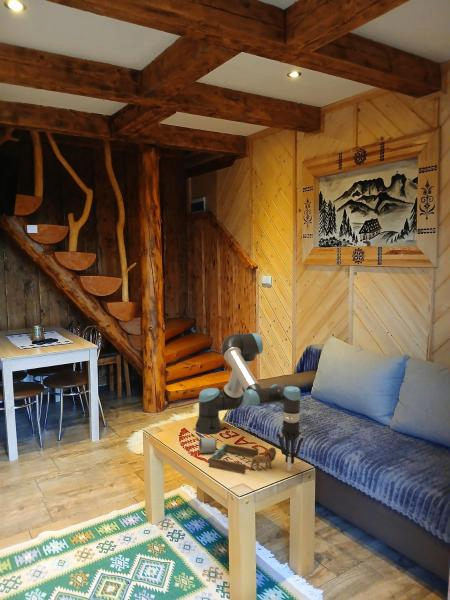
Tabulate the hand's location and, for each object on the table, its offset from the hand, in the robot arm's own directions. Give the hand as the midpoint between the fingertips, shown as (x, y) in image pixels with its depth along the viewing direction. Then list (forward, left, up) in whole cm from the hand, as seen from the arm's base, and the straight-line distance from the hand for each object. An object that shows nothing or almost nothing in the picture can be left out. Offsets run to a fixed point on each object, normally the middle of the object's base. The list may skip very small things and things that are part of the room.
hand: (289, 469), depth 219 cm
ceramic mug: (-6, -45, -2) cm, 46 cm away
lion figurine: (+1, -13, -2) cm, 13 cm away
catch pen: (+1, -28, -1) cm, 28 cm away
